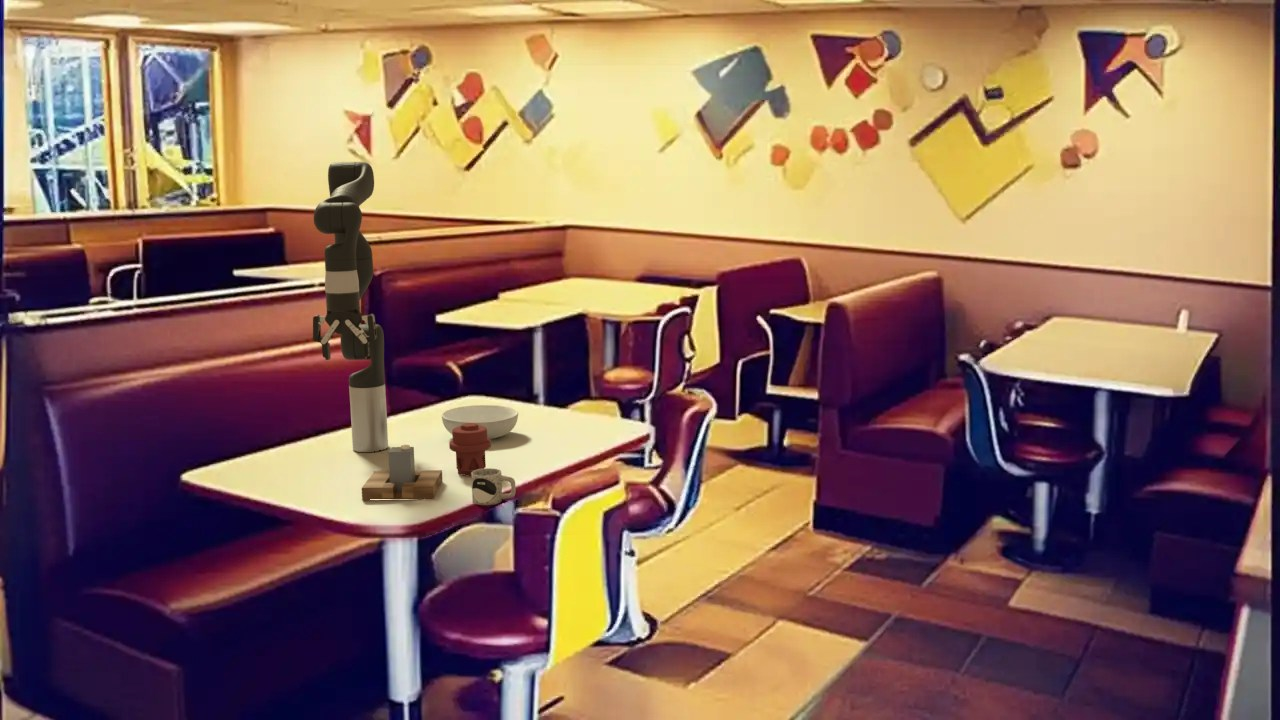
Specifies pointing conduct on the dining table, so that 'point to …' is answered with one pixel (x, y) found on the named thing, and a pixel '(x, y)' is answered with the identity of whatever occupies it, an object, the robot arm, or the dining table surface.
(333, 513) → the dining table surface
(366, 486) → the plate
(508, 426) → the serving bowl
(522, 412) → the dining table surface
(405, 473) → the block
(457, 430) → the mechanical component
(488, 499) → the mug
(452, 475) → the dining table surface
